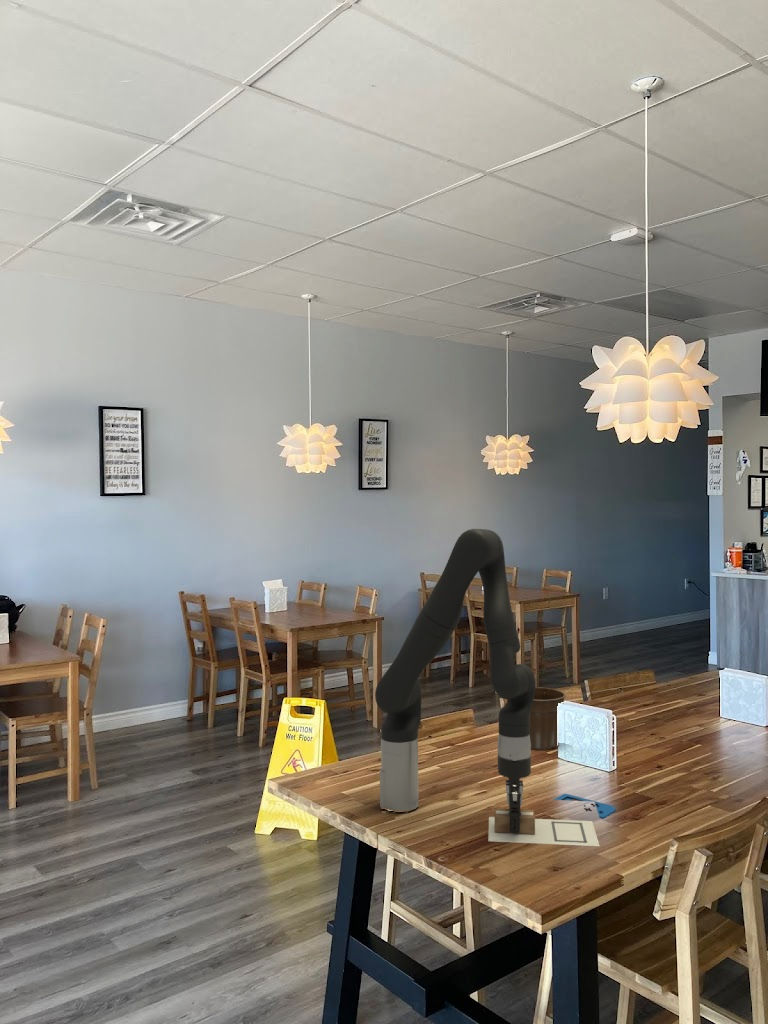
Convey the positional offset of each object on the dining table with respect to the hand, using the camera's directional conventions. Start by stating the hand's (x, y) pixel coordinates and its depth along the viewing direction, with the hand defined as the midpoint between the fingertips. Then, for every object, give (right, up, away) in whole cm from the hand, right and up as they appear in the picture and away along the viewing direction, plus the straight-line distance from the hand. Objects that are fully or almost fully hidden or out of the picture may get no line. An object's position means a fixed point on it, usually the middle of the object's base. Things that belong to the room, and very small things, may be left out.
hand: (514, 826), depth 186 cm
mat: (+6, -1, -1) cm, 6 cm away
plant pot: (+18, 0, +67) cm, 69 cm away
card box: (0, 0, 0) cm, 0 cm away
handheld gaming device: (+19, -1, +15) cm, 25 cm away
